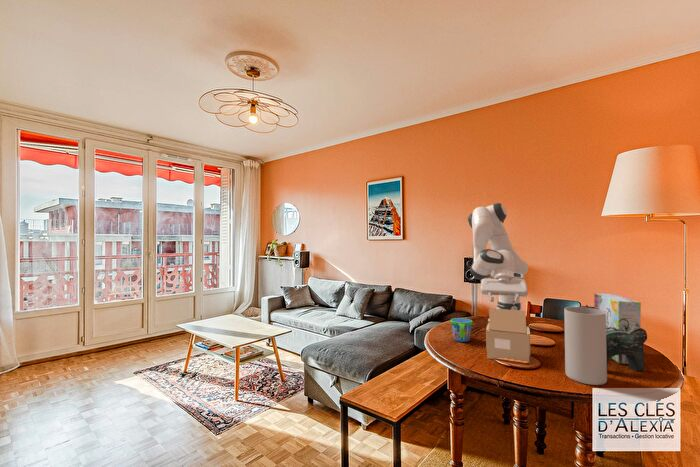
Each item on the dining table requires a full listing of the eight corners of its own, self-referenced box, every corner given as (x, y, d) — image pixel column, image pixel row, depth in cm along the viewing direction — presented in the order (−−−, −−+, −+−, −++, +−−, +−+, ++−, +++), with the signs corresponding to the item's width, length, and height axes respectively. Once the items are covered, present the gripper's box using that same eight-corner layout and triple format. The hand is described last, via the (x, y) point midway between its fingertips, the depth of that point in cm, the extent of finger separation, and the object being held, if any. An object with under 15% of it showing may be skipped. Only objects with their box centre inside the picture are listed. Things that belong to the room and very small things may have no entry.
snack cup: (452, 334, 177) (452, 315, 177) (473, 336, 173) (473, 317, 173) (449, 343, 163) (449, 323, 163) (472, 346, 159) (471, 325, 159)
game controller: (638, 366, 132) (637, 316, 132) (653, 373, 126) (652, 320, 126) (589, 367, 132) (588, 317, 132) (601, 374, 125) (601, 321, 125)
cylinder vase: (593, 388, 114) (591, 316, 114) (557, 375, 125) (556, 308, 125) (614, 382, 119) (613, 312, 119) (578, 369, 130) (577, 305, 130)
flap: (489, 308, 145) (489, 308, 145) (525, 311, 139) (525, 310, 139) (489, 329, 143) (489, 329, 143) (526, 333, 137) (526, 333, 136)
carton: (488, 347, 157) (488, 322, 157) (529, 352, 149) (528, 326, 149) (486, 358, 143) (485, 330, 143) (530, 364, 135) (530, 335, 136)
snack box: (643, 366, 132) (642, 302, 133) (618, 364, 135) (617, 301, 135) (614, 348, 153) (613, 292, 154) (593, 347, 156) (592, 292, 156)
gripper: (480, 273, 164) (478, 296, 156) (527, 274, 154) (527, 299, 145) (482, 281, 168) (479, 304, 159) (527, 283, 158) (528, 307, 149)
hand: (502, 301), depth 152 cm, fingers open, 8 cm apart
